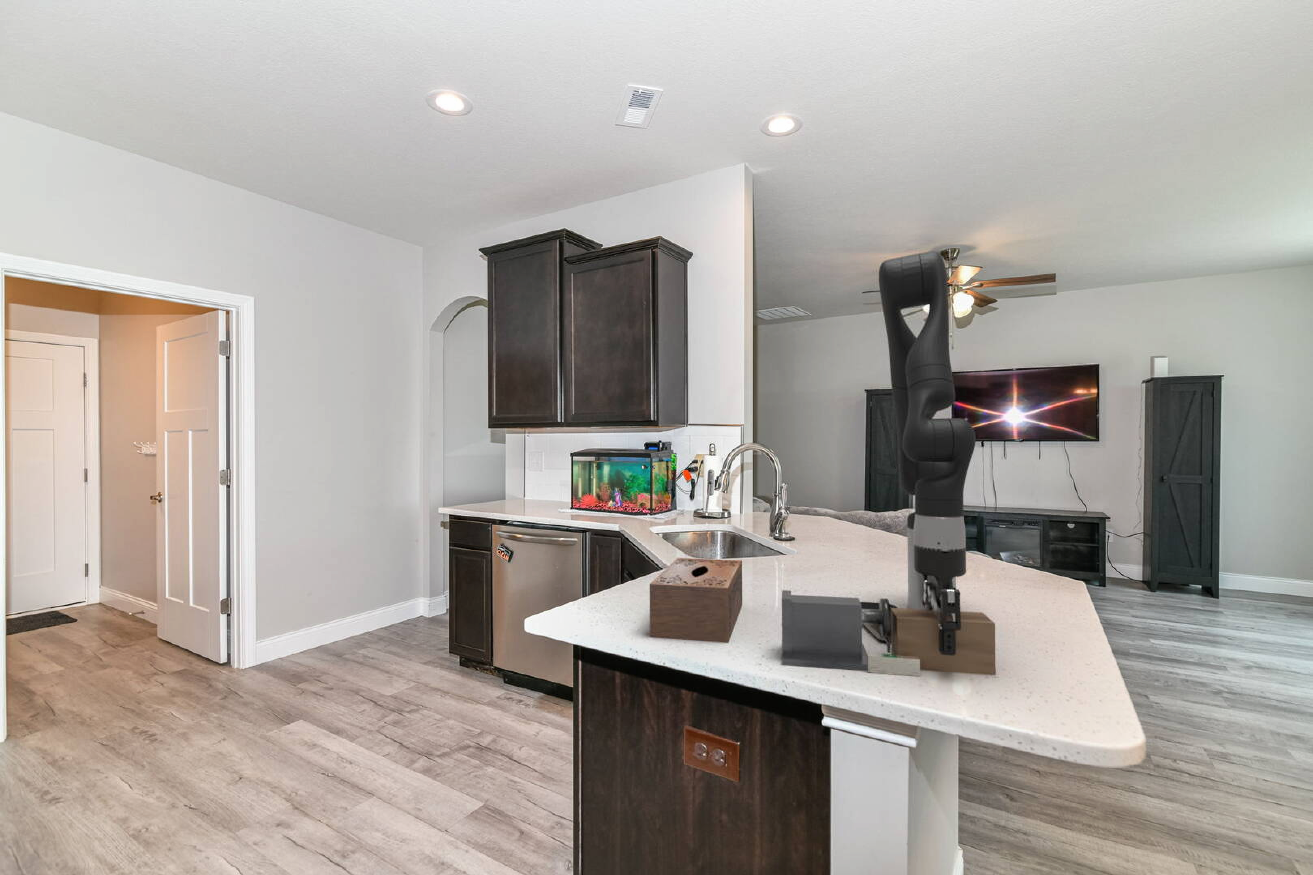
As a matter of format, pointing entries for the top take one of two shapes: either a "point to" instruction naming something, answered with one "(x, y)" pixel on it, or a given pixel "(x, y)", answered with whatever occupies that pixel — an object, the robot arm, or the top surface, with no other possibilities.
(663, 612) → the tissue box cover
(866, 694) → the top surface
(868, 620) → the plunger
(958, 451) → the robot arm
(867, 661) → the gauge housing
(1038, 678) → the top surface
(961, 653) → the walnut block
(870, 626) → the black curved shell
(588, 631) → the top surface
